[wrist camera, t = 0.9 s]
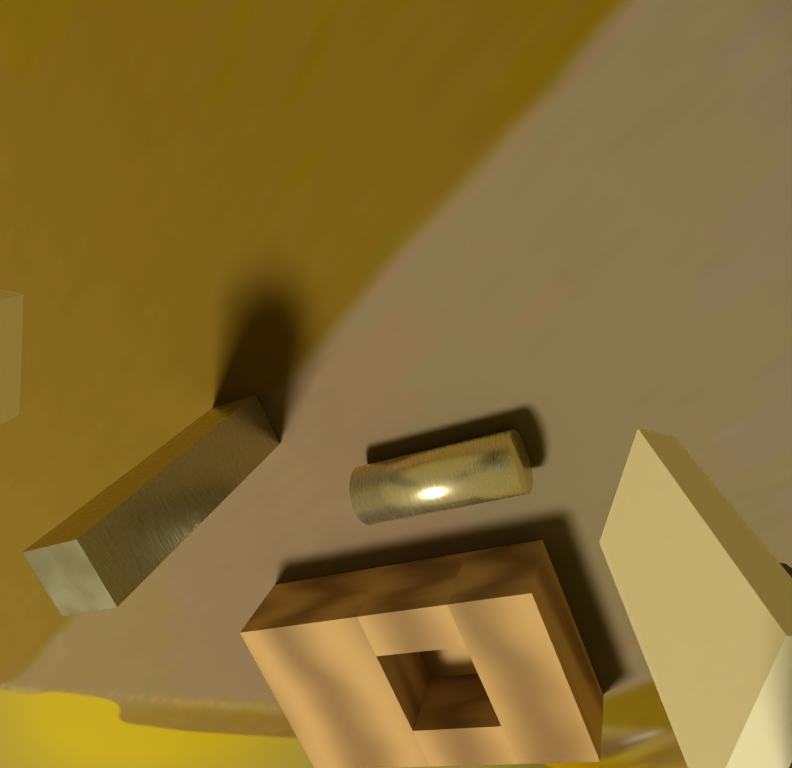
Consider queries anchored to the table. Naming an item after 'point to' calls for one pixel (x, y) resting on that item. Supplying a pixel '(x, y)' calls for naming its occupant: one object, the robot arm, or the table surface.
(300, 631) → the holder block
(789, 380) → the table surface
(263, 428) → the square bit
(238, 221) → the table surface
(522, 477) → the round bit
